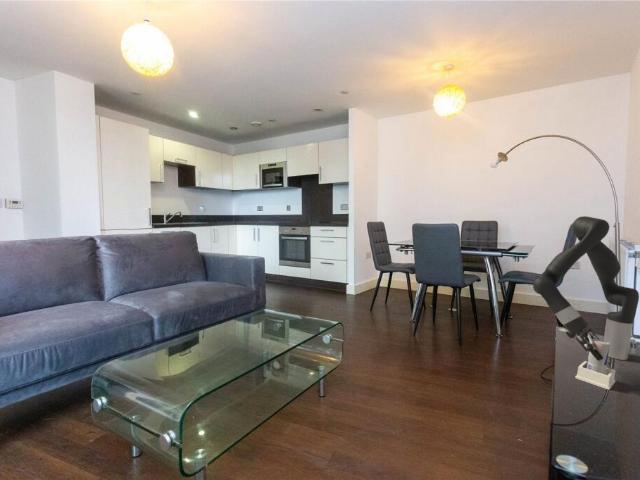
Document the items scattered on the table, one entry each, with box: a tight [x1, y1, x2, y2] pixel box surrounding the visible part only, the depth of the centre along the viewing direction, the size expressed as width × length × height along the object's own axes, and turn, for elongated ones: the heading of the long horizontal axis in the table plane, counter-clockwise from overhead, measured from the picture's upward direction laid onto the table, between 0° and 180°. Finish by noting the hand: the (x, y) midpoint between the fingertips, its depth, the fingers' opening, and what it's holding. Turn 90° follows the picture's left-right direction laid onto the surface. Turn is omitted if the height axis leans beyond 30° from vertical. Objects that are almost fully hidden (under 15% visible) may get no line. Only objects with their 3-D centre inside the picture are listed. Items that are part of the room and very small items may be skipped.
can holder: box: [574, 360, 616, 390], centre depth 132 cm, size 10×10×5 cm
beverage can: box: [587, 338, 610, 374], centre depth 132 cm, size 6×6×15 cm
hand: (603, 357), depth 130 cm, fingers open, 7 cm apart
